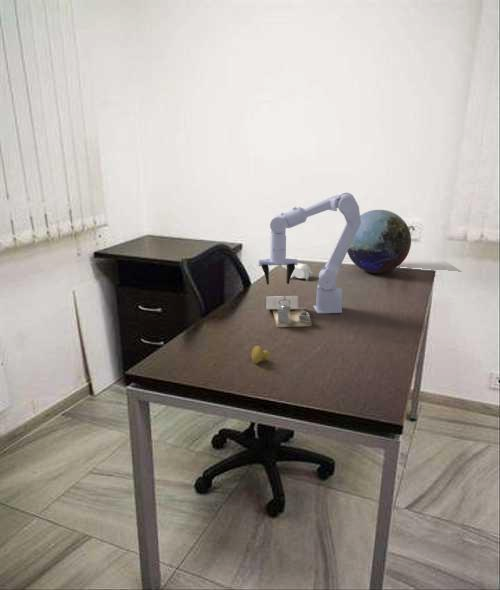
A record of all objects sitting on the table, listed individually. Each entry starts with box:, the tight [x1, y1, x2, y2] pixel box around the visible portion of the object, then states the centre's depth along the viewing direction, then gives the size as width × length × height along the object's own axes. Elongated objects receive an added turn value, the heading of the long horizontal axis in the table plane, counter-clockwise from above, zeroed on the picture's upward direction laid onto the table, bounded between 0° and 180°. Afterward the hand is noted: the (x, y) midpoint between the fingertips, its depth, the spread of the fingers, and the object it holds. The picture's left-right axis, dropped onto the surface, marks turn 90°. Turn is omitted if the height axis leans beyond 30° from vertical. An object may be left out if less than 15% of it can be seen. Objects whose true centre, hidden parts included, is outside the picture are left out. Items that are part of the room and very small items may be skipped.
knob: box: [251, 345, 269, 364], centre depth 136 cm, size 5×5×5 cm
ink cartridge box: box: [265, 295, 307, 310], centre depth 174 cm, size 9×5×15 cm
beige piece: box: [272, 308, 313, 328], centre depth 167 cm, size 12×14×5 cm
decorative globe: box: [346, 209, 412, 274], centre depth 221 cm, size 30×30×30 cm
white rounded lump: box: [281, 257, 313, 282], centre depth 216 cm, size 9×8×15 cm
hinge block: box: [277, 305, 290, 323], centre depth 161 cm, size 4×4×5 cm
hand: (277, 283), depth 176 cm, fingers open, 7 cm apart
